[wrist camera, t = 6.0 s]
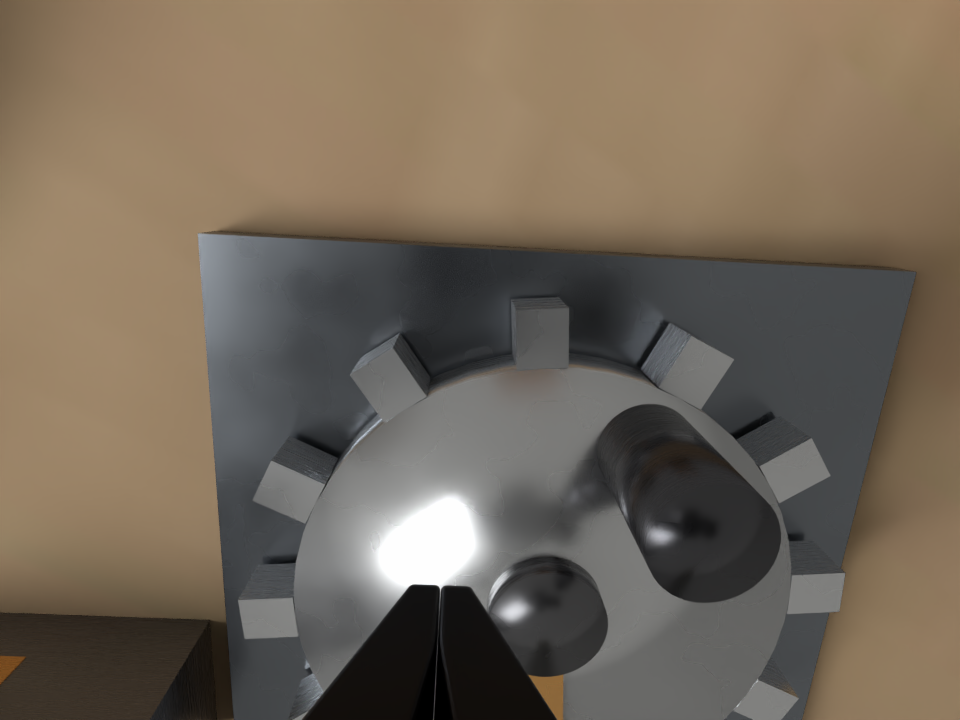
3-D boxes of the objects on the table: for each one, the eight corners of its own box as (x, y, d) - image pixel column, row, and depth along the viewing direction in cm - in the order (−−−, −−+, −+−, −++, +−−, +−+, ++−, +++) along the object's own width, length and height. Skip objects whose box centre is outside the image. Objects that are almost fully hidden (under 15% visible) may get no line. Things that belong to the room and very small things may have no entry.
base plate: (765, 777, 21) (779, 806, 20) (250, 767, 20) (239, 796, 19) (889, 267, 16) (916, 272, 15) (214, 231, 15) (197, 233, 14)
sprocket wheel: (624, 842, 20) (683, 1079, 14) (176, 670, 17) (49, 878, 12) (926, 463, 16) (1151, 593, 11) (411, 181, 14) (378, 172, 8)
